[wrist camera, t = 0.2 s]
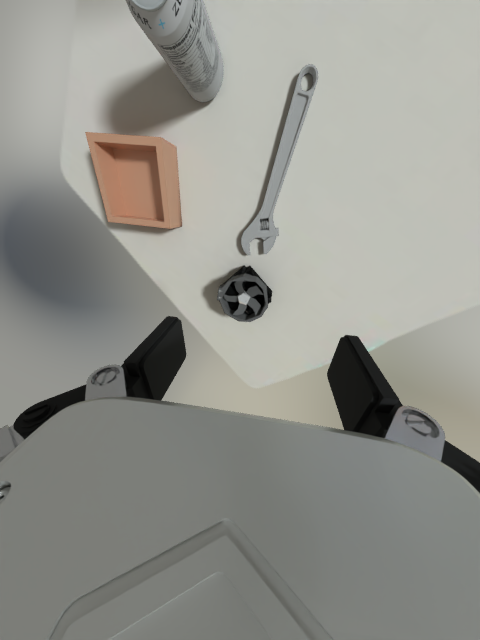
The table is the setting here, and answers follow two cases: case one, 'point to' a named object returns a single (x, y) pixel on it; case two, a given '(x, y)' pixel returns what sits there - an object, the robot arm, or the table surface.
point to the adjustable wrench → (281, 164)
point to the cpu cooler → (244, 295)
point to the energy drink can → (183, 42)
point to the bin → (137, 179)
